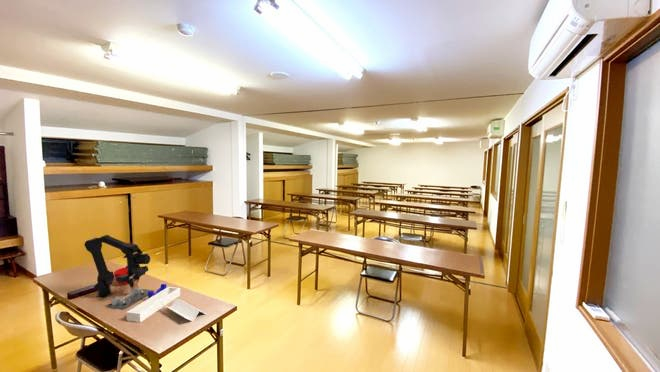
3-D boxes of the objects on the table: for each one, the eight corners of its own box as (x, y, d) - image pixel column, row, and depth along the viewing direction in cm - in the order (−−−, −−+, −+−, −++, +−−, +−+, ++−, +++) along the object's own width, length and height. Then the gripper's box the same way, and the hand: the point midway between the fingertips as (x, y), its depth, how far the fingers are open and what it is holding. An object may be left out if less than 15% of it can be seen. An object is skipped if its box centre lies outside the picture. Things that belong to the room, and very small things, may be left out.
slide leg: (130, 293, 181) (129, 280, 180) (134, 291, 184) (133, 278, 183) (140, 294, 179) (139, 282, 178) (144, 292, 182) (143, 280, 181)
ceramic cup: (126, 277, 209) (125, 264, 208) (141, 281, 203) (140, 268, 202) (107, 284, 197) (106, 271, 196) (122, 288, 191) (121, 275, 190)
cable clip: (161, 291, 188) (160, 283, 187) (166, 292, 187) (166, 284, 186) (146, 300, 176) (145, 291, 175) (152, 301, 175) (151, 292, 174)
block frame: (126, 320, 154) (126, 312, 154) (168, 293, 185) (168, 286, 184) (140, 322, 153) (139, 313, 152) (180, 295, 183) (180, 288, 182)
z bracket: (177, 311, 172) (183, 301, 175) (200, 324, 158) (206, 313, 161) (162, 304, 164) (169, 294, 167) (184, 318, 150) (192, 306, 153)
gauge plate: (107, 307, 167) (107, 300, 167) (138, 290, 189) (138, 283, 188) (123, 309, 165) (123, 302, 164) (153, 292, 186) (153, 285, 186)
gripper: (129, 270, 169) (131, 294, 171) (154, 259, 187) (155, 281, 189) (115, 269, 171) (116, 292, 173) (140, 258, 189) (142, 279, 191)
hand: (134, 286), depth 181 cm, fingers closed on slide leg, 3 cm apart
